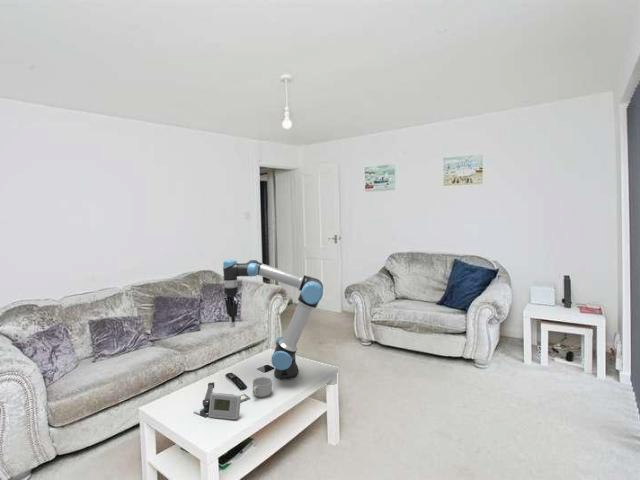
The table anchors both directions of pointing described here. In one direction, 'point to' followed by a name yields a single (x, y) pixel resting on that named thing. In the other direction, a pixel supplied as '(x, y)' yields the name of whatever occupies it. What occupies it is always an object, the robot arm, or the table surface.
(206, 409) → the pivot post
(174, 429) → the table surface
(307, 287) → the robot arm
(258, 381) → the teacup
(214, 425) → the table surface
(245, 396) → the label plate
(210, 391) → the swing arm
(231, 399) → the digital clock
